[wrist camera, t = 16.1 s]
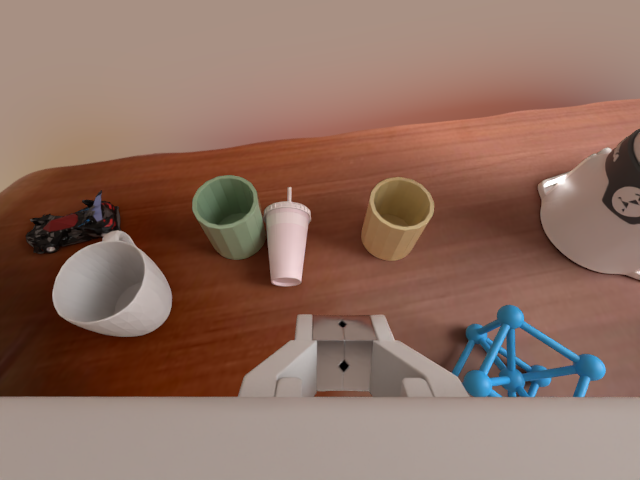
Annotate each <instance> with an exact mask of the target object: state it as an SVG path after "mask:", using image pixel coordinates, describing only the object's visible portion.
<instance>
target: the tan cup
mask: <svg viewBox="0 0 640 480" xmlns="http://www.w3.org/2000/svg"><path fill="white" fill-rule="evenodd" d="M433 214H434V202H433V199H432V197H431V194H430V193H429V192H428V191H427V190H426V188H425V187H424V186H423V185H421V184H420V183H418V182H416V181H414V180H412V179H408V178H403V177H394V178H387V179H385V180H383V181H381V182H380V183H378V184H377V185H376V186H375V188H374V189H373V190H372V192H371V195H370V199H369V203H368V207H367V210H366V214H365V218H364V222H363V226H362V231H361V239H362V242H363V245H364V247H365V248H366V249H367V251H368V252H369V253H371V254H372V255H373V256H375V257H377V258H379V259H382V260H387V261H395V260H399V259H402V258H404V257H406V256H407V255H408V254H409V253H410V252H411V251H412V249H413V247H414V246H415V244H416V243H417V241H418V239H419V238H420V236H421V234H422V233H423V231H424V229H425V228H426V226H427V224H428V222H429V221H430V219H431V217H432V216H433Z"/></svg>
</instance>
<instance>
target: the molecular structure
mask: <svg viewBox="0 0 640 480" xmlns="http://www.w3.org/2000/svg"><path fill="white" fill-rule="evenodd" d="M500 326H501V327H500ZM498 327H500V329H499V331H498V333H497V335H496V337H495V339H494V341H492V340H490V339H489V338H487V332H489V331H491V330H493V329H495V328H498ZM519 327H520V328H521V329H523V330H525V331H526V332H528V333H529V334H531V335H532V336H534V337H535V338H537V339H539V340H540V341H542V342H543V343H545V344H546V345H548V346H550V347H551V348H553V349H554V350H556V351H557V352H559V353H560V354H562V355H564V356H565V357H567V358H568V359H570V360H571V361H573V365H572V366H566V367H560V368H554V369H546V368H545V367H543V366H540V365H533V366H529V365H528V364H526V363H525V362H523V361H522V360H520V359H519V358H517V357H516V356H515V329H516V328H519ZM506 335H507V350H505V349H504V348H502V347H501V345H502V343H503V341H504V339H505V337H506ZM466 337H467V338H468V340H469V341H468V343H467V345H466V347H465V349H464V351H463V352H462V354H461V356H460V358H459V360H458V362H457V364H456V366H455V367H454V369H453V371H452V374H454V375H456V376H457V377H458V376H459V374H460V372H461V370H462V368H463V366H464V364H465V362H466V360H467V358H468V356H469V354H470V353H471V351H472V349H473V347H474V345H475V344H481V346H482V347H483V348H484V350H485V351H486V352H487V355H486V357H485V359H484V361H483V363H482V365H481V367H480V369H479V370H472V371H469V372H468V373H466V375H465V377H464V382H462V385H463V386H464V388H465V390H466V391H467V392H468V393H469V394H470V395H472V396H474V397H486V396H488V397H502V396H501V395H499V394H498V393H497V392H495V391H494V390H492V386H498V385H502V386H503V387H504V388H505V389H506V390H508V397H516V392H517V393H518V394H519V396H520V397H535V395H536V392H537V390H538V388H539V387H545V386H547V385H549V384H550V382H551V378H552V377H558V376H564V375H571V374H578V375H579V376H580V378H579V381H578V384H577V387H576V390H575V392H574V395H573V397H585V394H586V391H587V388H588V385H589V382H590V381H595V380H599V379H601V378H602V377H603V376H604V375H605V372H606V371H605V366H604V364H603V362H602V361H601V360H600V359H599V358H598V357H596V356H594V355H590V354H581V355H579V356H578V355H576V354H575V353H573V352H572V351H570V350H569V349H567V348H565V347H564V346H562V345H561V344H559V343H557V342H556V341H554V340H553V339H551V338H550V337H548V336H546V335H545V334H543V333H542V332H540V331H539V330H537V329H535V328H534V327H532V326H531V325H529V324H527V323H526V322H524V315H523V313H522V311H521V310H520V309H519V308H518V307H516V306H512V305H505V306H503V307H501V308H500V309H499V310H498V313H497V320H495V321H493V322H491V323H489V324H487V325H485V326H481V325H479V324H472V325H470V326H468V327H467V329H466ZM497 353H500V354H501V355H503V356H504V357H506V358H507V367H506V366H505V364H504V363H503V362H502V361H501V359H500V358H499V357H498V356H497ZM493 362H494V363H495V364H496V365H497V367H498V368H499V369H500V373H499V377H494V378H489V377H488V376H487V374H488V372H489V370H490V368H491V366H492V364H493ZM516 365H518V366H519V367H521V368H522V369H524V370H525V371H527V373H523V374H522V373H521V372H520V371H519V370H517V369H516ZM525 381H530V382H531V385H530V388H529V390H528V393H527V392H526V391H525V390H524V385H525Z"/></svg>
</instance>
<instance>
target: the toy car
mask: <svg viewBox="0 0 640 480" xmlns="http://www.w3.org/2000/svg"><path fill="white" fill-rule="evenodd" d="M101 193H102V191H100V192H99V193H98V195H97V196H96V198H95V200H94V201H92V200H83V201H82V202H83V203H84V204H86V205H87V206H88V207H86V208H84V209H82V210H80V211H78V212H75V213H71V214H70V215H66V216H52V215H51V214H49V215H45V216H42V217H41V218H33V219H30V220H31V222H33V223H34V224H35V226H34V228H33V229H32V230H31V231H30V232H29V233H27V235H26V239H27V242H28V243H29V244H30V245H31V246H32V247H34V251H33V252H34V253H38V254H42V253H45V252H47V253H53V252H56V251H58V249H59V245H60V246H67V245H71V244H76V243H80V242H84V241H89V240H92V239H95V238H98V237H102V238H103V237H104V236H105V235H106V234H107V233H109V232H111V231H116V230H119V231H121V229H120V214H119V211H118V209H119V207H118V206H115V207H114V206H113V205H112V204H111V203H110V202H106V201H101ZM41 249H43V251H42V250H41Z"/></svg>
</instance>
